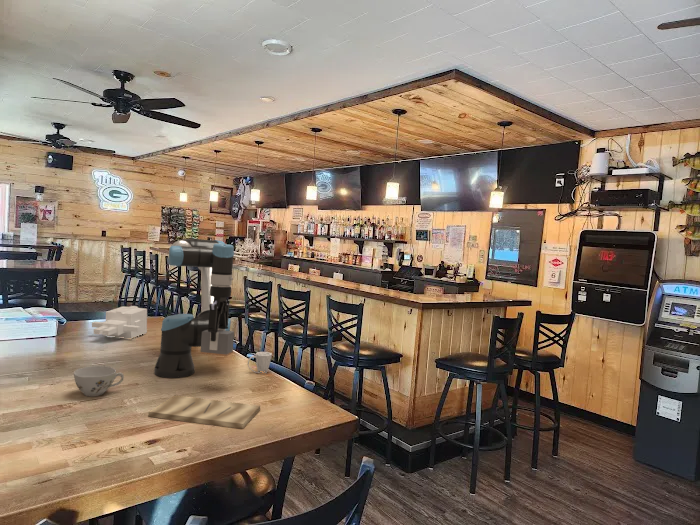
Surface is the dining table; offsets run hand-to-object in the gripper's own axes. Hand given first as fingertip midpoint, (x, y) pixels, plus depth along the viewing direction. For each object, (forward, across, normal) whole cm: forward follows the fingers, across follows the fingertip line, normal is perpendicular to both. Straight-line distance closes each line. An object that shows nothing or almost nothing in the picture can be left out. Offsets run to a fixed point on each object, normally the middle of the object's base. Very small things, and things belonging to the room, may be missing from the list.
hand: (217, 347), depth 171 cm
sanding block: (+2, 0, 0) cm, 2 cm away
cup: (+15, +25, -9) cm, 30 cm away
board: (+15, -24, -7) cm, 29 cm away
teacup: (+15, -18, +34) cm, 41 cm away
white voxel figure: (+15, +58, +75) cm, 96 cm away
